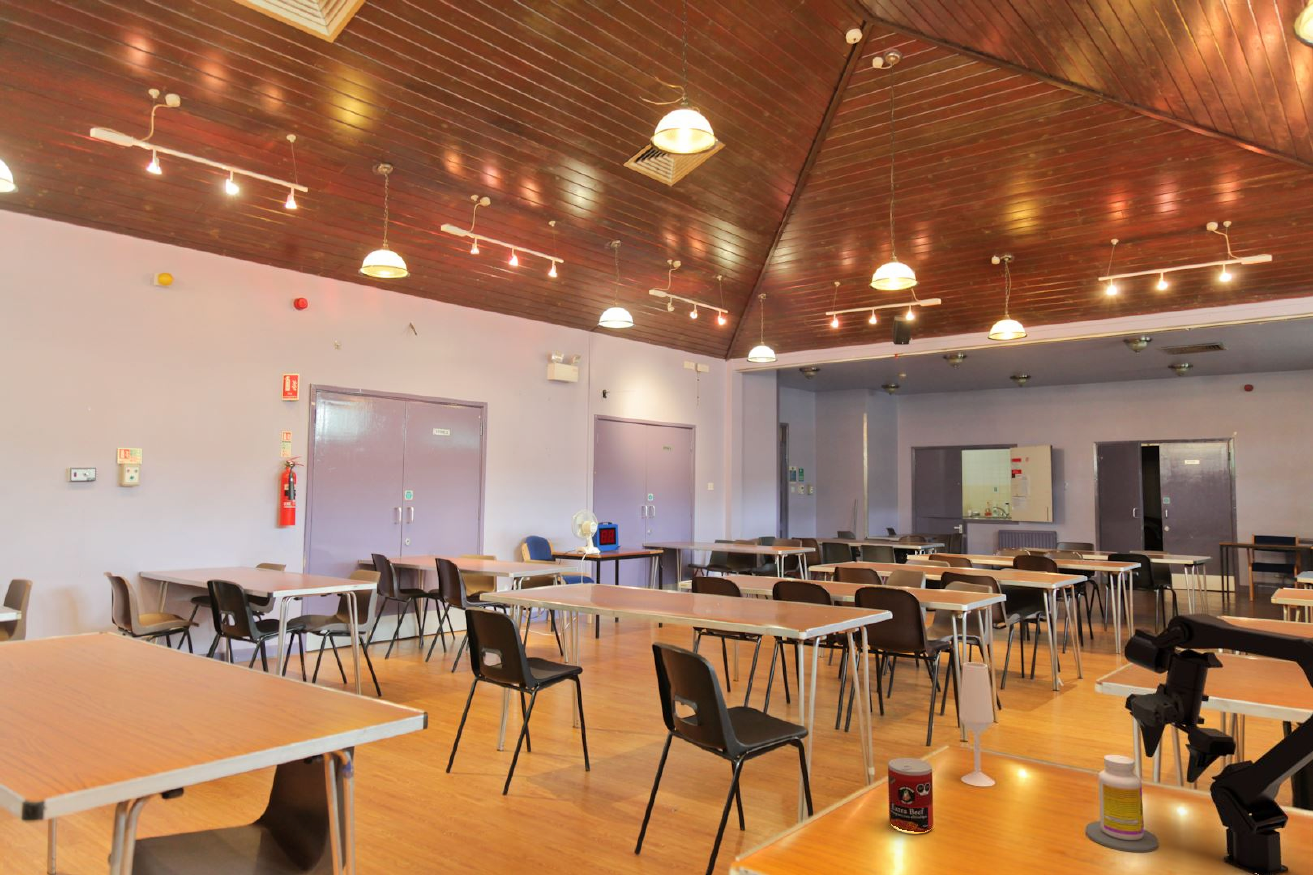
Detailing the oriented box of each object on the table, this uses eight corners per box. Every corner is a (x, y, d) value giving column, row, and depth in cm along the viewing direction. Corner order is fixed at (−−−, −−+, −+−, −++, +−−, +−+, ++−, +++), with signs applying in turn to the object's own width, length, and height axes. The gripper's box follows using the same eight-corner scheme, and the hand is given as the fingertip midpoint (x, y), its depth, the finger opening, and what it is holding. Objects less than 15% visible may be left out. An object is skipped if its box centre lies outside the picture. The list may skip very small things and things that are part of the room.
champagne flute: (971, 772, 177) (968, 659, 178) (1001, 781, 172) (998, 665, 173) (954, 779, 173) (952, 664, 174) (984, 788, 167) (981, 669, 169)
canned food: (884, 830, 147) (883, 767, 148) (894, 814, 154) (893, 754, 155) (929, 838, 144) (927, 774, 144) (936, 822, 151) (935, 761, 152)
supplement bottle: (1150, 843, 140) (1146, 766, 141) (1107, 840, 141) (1104, 763, 142) (1135, 827, 146) (1132, 753, 147) (1095, 824, 148) (1092, 751, 149)
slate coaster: (1173, 846, 141) (1172, 841, 141) (1126, 856, 137) (1126, 851, 137) (1116, 821, 151) (1116, 817, 151) (1071, 830, 147) (1071, 826, 147)
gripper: (1107, 661, 152) (1092, 742, 153) (1189, 702, 134) (1171, 794, 135) (1158, 665, 154) (1143, 745, 155) (1246, 707, 136) (1228, 797, 137)
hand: (1168, 769), depth 145 cm, fingers open, 9 cm apart
